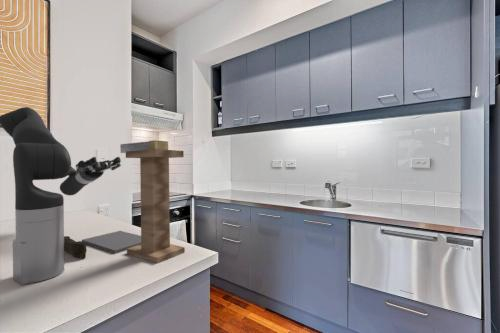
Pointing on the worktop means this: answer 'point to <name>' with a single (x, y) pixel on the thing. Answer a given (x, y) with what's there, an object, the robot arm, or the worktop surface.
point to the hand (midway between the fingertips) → (107, 159)
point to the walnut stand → (155, 205)
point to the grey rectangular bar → (144, 146)
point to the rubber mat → (114, 241)
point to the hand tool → (75, 247)
